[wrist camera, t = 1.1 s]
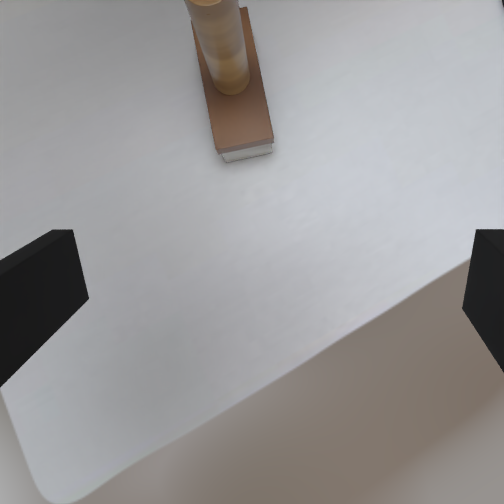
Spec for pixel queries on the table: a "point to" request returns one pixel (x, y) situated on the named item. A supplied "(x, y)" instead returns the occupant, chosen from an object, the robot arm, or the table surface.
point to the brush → (231, 78)
